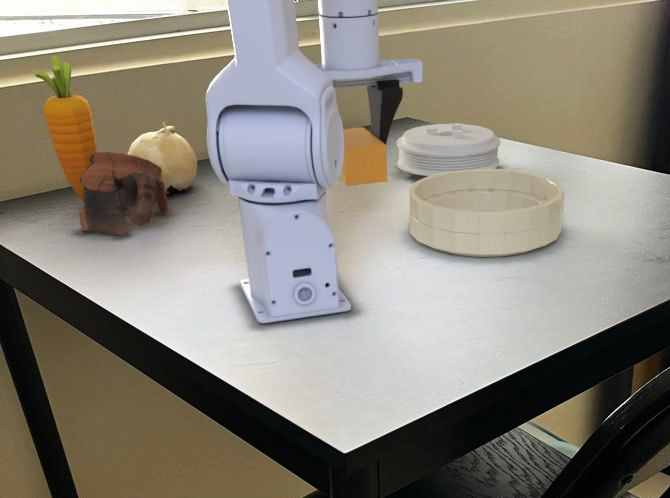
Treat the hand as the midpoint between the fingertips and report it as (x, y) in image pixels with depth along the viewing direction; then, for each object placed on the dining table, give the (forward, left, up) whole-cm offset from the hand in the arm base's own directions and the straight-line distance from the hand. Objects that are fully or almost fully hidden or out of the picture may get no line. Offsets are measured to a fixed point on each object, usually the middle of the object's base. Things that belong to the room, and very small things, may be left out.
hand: (356, 162), depth 92 cm
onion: (+17, +19, -5) cm, 26 cm away
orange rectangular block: (0, 0, -1) cm, 1 cm away
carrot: (+14, +28, -5) cm, 32 cm away
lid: (+12, -15, -5) cm, 20 cm away
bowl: (-12, -10, -5) cm, 16 cm away
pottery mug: (+5, +24, -5) cm, 25 cm away
